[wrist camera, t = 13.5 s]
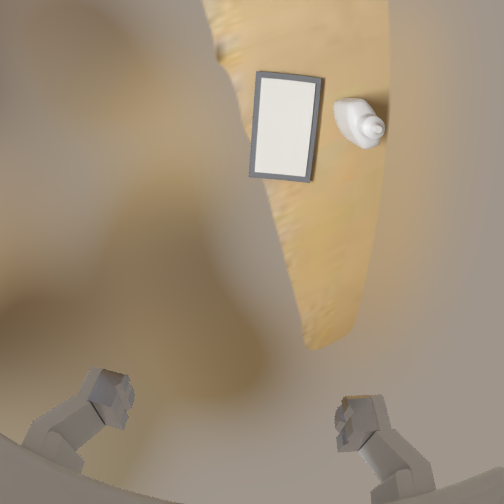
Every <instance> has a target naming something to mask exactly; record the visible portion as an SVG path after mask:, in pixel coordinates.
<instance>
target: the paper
mask: <svg viewBox="0 0 504 504" xmlns="http://www.w3.org/2000/svg"><path fill="white" fill-rule="evenodd" d="M315 84H316V83H308V82H301V81H292V80H283V79H272V78H262V79H261V92H260V105H259V118H258V132H257V145H256V159H255V172H260V173H272V174H282V175H292V176H302V177H305V175H306V167H307V159H308V151H309V142H310V133H311V124H312V115H313V105H314V95H315Z"/></svg>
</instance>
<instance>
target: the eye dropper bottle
mask: <svg viewBox="0 0 504 504" xmlns="http://www.w3.org/2000/svg"><path fill="white" fill-rule="evenodd" d="M334 116H335V120H336V123H337V126H338V128H339V129H340V131H341V132H342V134H343V135H344V136H345V138H346V139H348V140H349V141H351V142H352V143H354V144H356V145H357V146H359V147H361V148H363V149H369V148H372V147H375V146H377V145H378V144H379V143H380V137H382V136H383V134H384V132H385V125H384V123H383V121H382V120H381V119H380V118H379V117H377V115H376V113H375V112H374V110H373V108H372V107H371V106H370V105H369V104H368V102H367V101H365V100H364V99H360V98H343V99H340V100H337V101H335V103H334Z"/></svg>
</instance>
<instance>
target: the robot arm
mask: <svg viewBox="0 0 504 504" xmlns="http://www.w3.org/2000/svg"><path fill="white" fill-rule="evenodd" d="M129 382H130V379H129V376H128V375H126V374H122V373H117V372H114V371H109V370H106V369H103V368H99V367H95V366H93V367H92V368H91V369H90V370H89V372H88V374H87V376H86V378H85V380H84V382H83V384H82V385H81V388H80V389H79V392H78V394H77V396H76V397H74V396H72V397H71V398H69V399H67V400H66V401H64V402H63V403H61V404H59V405H58V406H57V407H55V408H53V409H52V410H50V411H48V412H47V413H45V414H43V415H42V416H40V417H39V418H37V419H35V420H34V421H33V422H32V424H31V426H30V428H29V430H28V432H27V434H26V436H25V438H24V441H23V443H22V445H20V444H18V443H16V442H14V441H13V440H11V439H9V438H8V437H6V436H4V435H3V434H1V433H0V504H183V503H177V502H172V501H168V500H163V499H159V498H155V497H150V496H146V495H142V494H139V493H135V492H132V491H128V490H125V489H121V488H118V487H115V486H112V485H109V484H106V483H104V482H100V481H98V480H95V479H92V478H90V477H87V476H85V475H82V474H81V471H82V468H83V465H84V459H83V458H82V457H81V456H80V455H79V454H78V453H77V452H76V450H77V449H78V448H80V447H81V446H82V445H83V444H84V443H86V442H87V441H88V440H89V439H91V438H92V437H93V436H94V435H95V434H97V433H98V432H99V431H100V430H101V429H102V428H103V427H105V425H107V426H111V427H115V428H118V429H122V430H124V428H125V425H126V422H127V419H128V414H127V411H128V410H129V409H130V408H132V405H133V402H134V389H133V387H132V386H131V385H130V384H129ZM341 402H342V405H341V406H339V407H338V409H337V410H336V413H335V429H336V430H337V431H338V432H339V435H338V436H337V438H336V439H337V448H338V452H349V451H350V452H351V451H358V453H359V454H360V456H361V457H362V458H363V459H364V461H365V462H366V463H367V465H368V466H369V467H370V469H371V470H372V471H373V472H374V474H375V475H376V476H377V477H378V479H379V480H380V481H381V484H379V485H378V486H377V487H375V488H374V489H373V490H372V491H371V492H370V493H371V502H372V504H504V468H503V467H496V468H493V469H491V470H489V471H486V472H484V473H482V474H479V475H477V476H474V477H472V478H469V479H467V480H464V481H461V482H459V483H456V484H453V485H450V486H447V487H444V488H441V489H438V490H436V488H435V482H434V478H433V473H432V469H431V465H430V462H429V461H428V460H426V459H425V458H424V457H423V456H422V455H421V454H420V453H419V452H418V451H417V450H416V449H415V448H414V447H413V446H412V445H411V444H410V443H409V442H408V441H407V440H406V439H405V438H404V437H402V435H401V434H400V433H398V432H397V431H396V430H395V429H391V425H390V421H389V417H388V413H387V409H386V405H385V402H384V397H383V396H382V395H380V394H379V395H359V396H345V397H343V399H342V401H341Z"/></svg>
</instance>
